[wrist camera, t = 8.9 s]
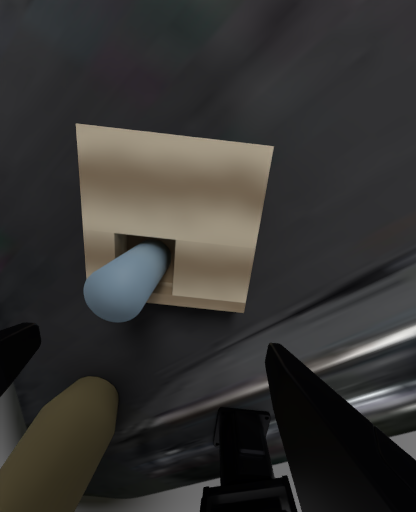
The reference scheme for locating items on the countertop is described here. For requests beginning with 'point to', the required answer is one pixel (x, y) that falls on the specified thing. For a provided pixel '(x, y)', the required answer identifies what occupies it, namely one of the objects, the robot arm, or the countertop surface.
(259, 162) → the board
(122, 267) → the peg
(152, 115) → the countertop surface
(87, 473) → the squeeze bottle
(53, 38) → the countertop surface
